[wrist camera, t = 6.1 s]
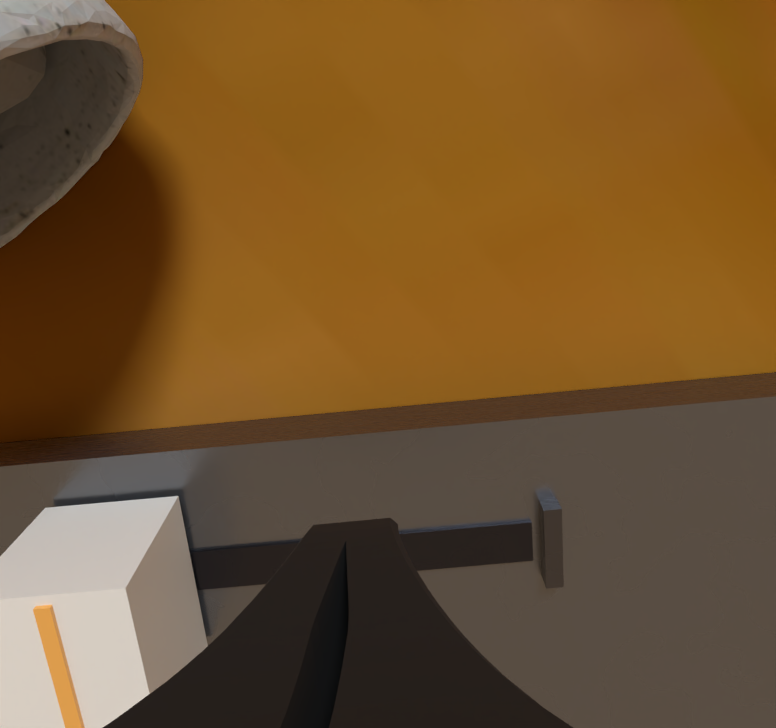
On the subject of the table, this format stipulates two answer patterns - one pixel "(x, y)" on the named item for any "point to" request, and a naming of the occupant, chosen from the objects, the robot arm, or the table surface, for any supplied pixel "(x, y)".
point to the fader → (95, 612)
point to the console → (497, 529)
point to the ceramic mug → (58, 99)
